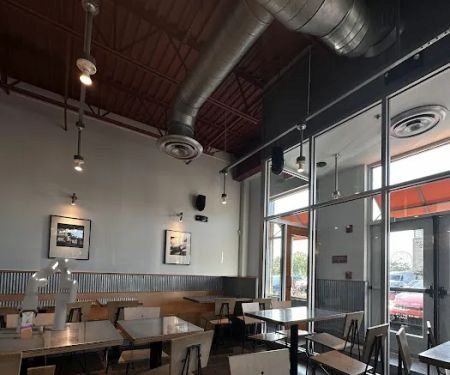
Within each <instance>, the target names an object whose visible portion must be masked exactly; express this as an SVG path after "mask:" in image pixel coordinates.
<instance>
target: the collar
mask: <svg viewBox="0 0 450 375" xmlns="http://www.w3.org/2000/svg"><path fill="white" fill-rule="evenodd" d="M32 333H33V328H32V329H30V330H22V331H21V333H20V334H21V337H20V339H19V340H26V339H25V338H31V335H32Z"/></svg>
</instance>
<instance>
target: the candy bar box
mask: <svg viewBox="0 0 450 375" xmlns="http://www.w3.org/2000/svg"><path fill="white" fill-rule="evenodd" d="M34 313H35V312H33V311H27V312H22V318H20V312H19V313H18V315H17V321H16V330H15V334H21V331H22V330H30V329H32V330H33V321H34V315H35V314H34Z"/></svg>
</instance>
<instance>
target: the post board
mask: <svg viewBox="0 0 450 375" xmlns="http://www.w3.org/2000/svg"><path fill="white" fill-rule="evenodd" d="M43 328H44V326H42V325H38V327H37V332H36V333H35V332H32V335H31V338H25V339H24V340H31V339H45V338H46V339H47V334H48V332H43V331H44V329H43ZM17 334H18V335H17V337H16V340H21V339H20V337H21V333H17Z"/></svg>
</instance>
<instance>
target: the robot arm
mask: <svg viewBox="0 0 450 375" xmlns="http://www.w3.org/2000/svg"><path fill="white" fill-rule="evenodd" d="M77 265H78V261H77V260H76V259H75V258H74V259H73V258H70V257H55V258H54V259H52V261H50V263H49V264H48V265H46V267H44V268H41V269H40V270H38V271H35V273H33V274H32V275H31V277H30V278H28V280H27V287H26V291H25V292H26V293H25V296H24V297H23V301H22V303H21V304H19V305H17V306H16V309H17V311H18V312H19V313H20V318H22V313H23V312H24V311H25V310H26V311H28V310H29V311H30V310H32V311H33V310H34V311H35V312H34V313H35V314H34V318H36V317H38V313H39V312H40V311H41V309H42V308H43V305H42V304H40V303H38V302H39V296H38V295H40V292H38V291H39V290H38V289H39V288H44V287H46V286H48V284H49V280H48V279H47V277H51V276H53V275H55V273H56V272H58V270H59V271H60V279H59V283H58V284H59V285H58V287H59V289H60V291H58V292H56V294H55V296H54V301H55V305H54V314H53V322H52V323H53V324H52V327H50V330H51V331H65V330H67V328H69V327H70V328H71V326H72V325H71V323H70V324H69V323H68V324H66V319H67V318H66V317H67V311H68V309H67V308H68V307H67V304H73V303H75V301H76V299H77V294H78V288H79V282H78V280H77V279H73V278H72V271H71V270H74V269H75V268H77V267H78V266H77ZM61 290H62V291H61ZM38 307H39V308H38Z"/></svg>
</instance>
